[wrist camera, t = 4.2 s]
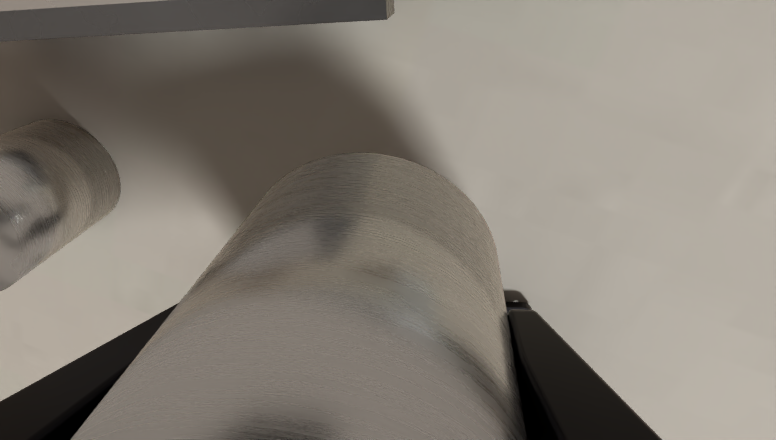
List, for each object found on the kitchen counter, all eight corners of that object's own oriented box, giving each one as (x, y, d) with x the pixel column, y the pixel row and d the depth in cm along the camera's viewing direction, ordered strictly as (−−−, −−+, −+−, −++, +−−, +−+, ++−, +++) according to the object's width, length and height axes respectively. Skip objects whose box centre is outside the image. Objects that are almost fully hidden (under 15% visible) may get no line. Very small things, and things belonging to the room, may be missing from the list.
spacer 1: (134, 220, 24) (43, 294, 18) (39, 221, 24) (-75, 292, 19) (100, 117, 21) (-15, 168, 16) (-4, 120, 22) (-147, 170, 17)
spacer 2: (492, 374, 11) (535, 785, 5) (266, 364, 11) (101, 724, 6) (506, 151, 8) (606, 483, 3) (222, 153, 9) (-110, 433, 4)
